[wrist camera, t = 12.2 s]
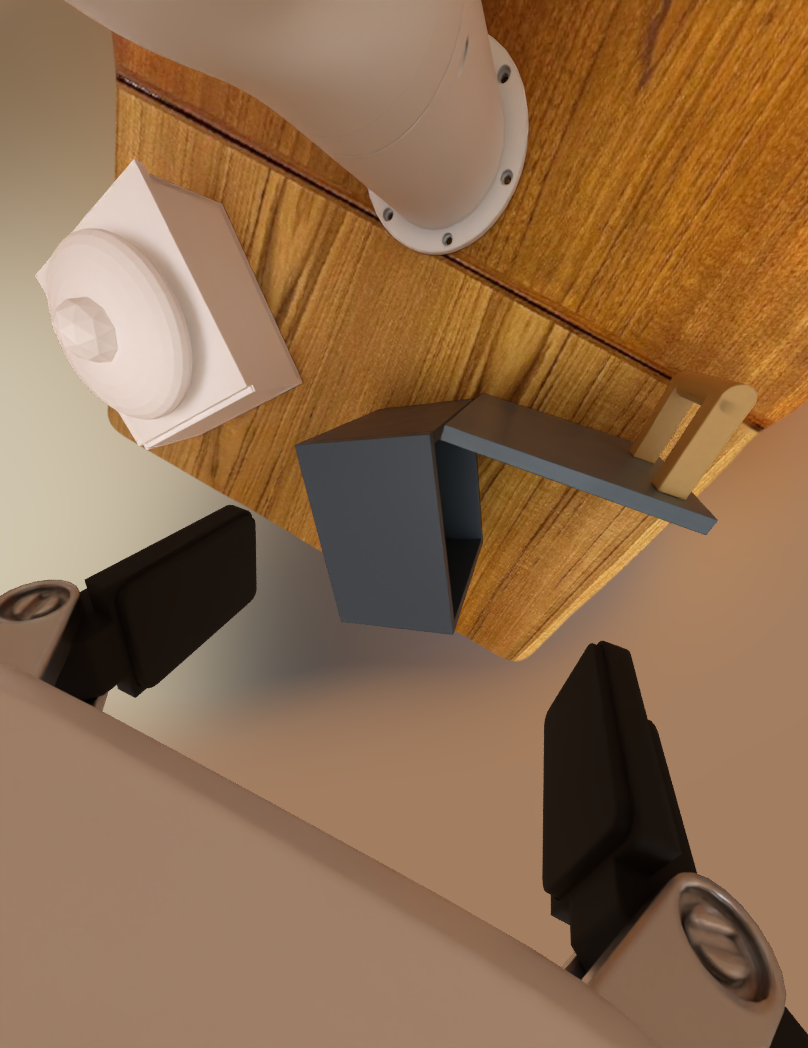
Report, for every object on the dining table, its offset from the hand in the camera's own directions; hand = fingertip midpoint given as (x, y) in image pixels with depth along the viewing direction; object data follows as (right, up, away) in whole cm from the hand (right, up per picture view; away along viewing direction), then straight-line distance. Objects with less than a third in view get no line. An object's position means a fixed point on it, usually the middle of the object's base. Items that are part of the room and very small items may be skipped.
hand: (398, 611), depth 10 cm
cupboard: (+3, +7, +31) cm, 32 cm away
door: (+15, +14, +23) cm, 31 cm away
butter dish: (-22, +24, +32) cm, 46 cm away
